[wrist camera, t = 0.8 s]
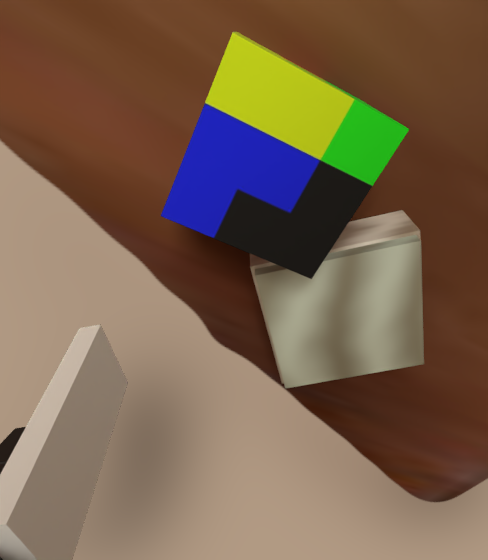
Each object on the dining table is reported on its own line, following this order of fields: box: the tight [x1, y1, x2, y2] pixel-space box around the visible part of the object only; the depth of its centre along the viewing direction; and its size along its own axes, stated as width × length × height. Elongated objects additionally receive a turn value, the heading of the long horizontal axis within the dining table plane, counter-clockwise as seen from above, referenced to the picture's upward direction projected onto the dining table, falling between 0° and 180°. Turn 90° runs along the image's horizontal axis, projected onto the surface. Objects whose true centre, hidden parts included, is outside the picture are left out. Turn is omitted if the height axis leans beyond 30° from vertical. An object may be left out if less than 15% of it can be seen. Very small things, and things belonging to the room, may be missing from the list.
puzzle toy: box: [161, 31, 409, 279], centre depth 27 cm, size 10×10×10 cm
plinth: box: [250, 210, 424, 388], centre depth 36 cm, size 13×13×5 cm
